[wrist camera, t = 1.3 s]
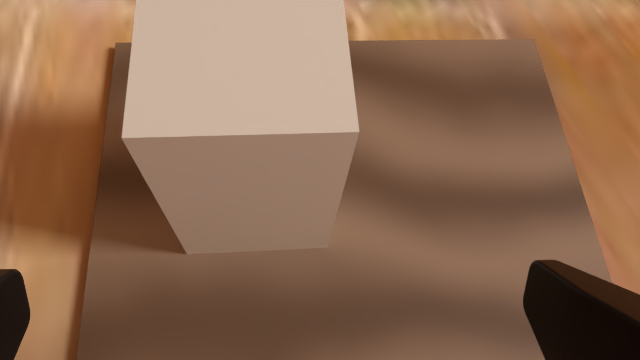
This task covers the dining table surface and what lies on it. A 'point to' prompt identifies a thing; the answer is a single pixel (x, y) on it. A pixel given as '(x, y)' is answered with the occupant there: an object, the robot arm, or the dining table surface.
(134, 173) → the board
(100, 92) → the dining table surface
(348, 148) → the cream matte box
